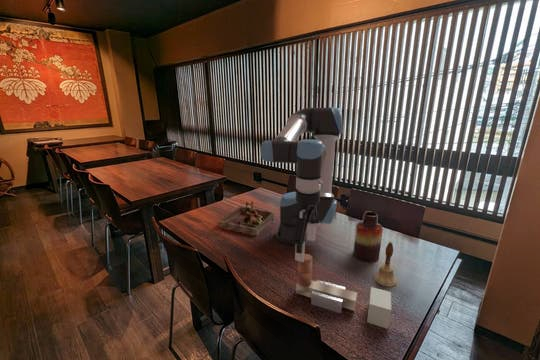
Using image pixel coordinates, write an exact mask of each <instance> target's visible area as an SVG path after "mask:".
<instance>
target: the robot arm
mask: <svg viewBox="0 0 540 360" xmlns="http://www.w3.org/2000/svg"><path fill="white" fill-rule="evenodd" d="M342 112H343V111H342V109H341V108H339V107H331V106H330V107H305V108H302V109H300V110H297V111H295V112H293V113H292V114H290V116H289V117H288V118H287V120H286V124H285V126H284V127H283V128H282V130H281V131H280V132H279V133H278V134H277V136H276V137H275V138H274V139H273V140H272V139H271V140H264V141H263V142H262V143H261V146H260V156H261V159H262V161H264V162H270V163H282V164H283V163H284V164H285V163H286V164H296V177H295V180H296V181H295V189H296V191H292V192H287V193H284V194H283V195H282V196H281V197H280V203H279V212H280V213H279V214H280V215H279V219H280V220H279V221H280V222H279V225H278V228H277V230H276V239H277V241H279V242H280V243H282V244H285V245H293V246H294V245H295V247H294V248H295V251H294V252H295V253H294V260H295V261H297V262H298V261H301V262H304V254H305V249H306V248H305V247H306V240H307V241H312V242H315V240H316V227H317V225H316V224H321V225H323V224H324V225H326V224H327V225H329V224H332V223H333V220H334V216H335V212H336V208H337V203H338V200H336V199H335V195H334V194H333V192H332V186H333V177H334V176H333V174H334V164H335V163H334V162H335V150H336V142H337V140H338V139H340V135H341V134H343V133H344V132H343V130H344V129H343V128H344V127H343V113H342ZM304 133H309V134H313V138H314V139H311V138H310V139H300V140H299V138H300V136H301V135H303V134H304ZM298 140H299V141H298Z"/></svg>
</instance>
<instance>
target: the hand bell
mask: <svg viewBox="0 0 540 360" xmlns="http://www.w3.org/2000/svg"><path fill="white" fill-rule="evenodd" d="M393 253H394V245H393V242H391V241H389V242H388V244H387V245H386V247H385V261H384V264H383V263H382V264H381V265H380V267H379V270H378V271H377V272H375V273H374V275H373V279H374V281H375V282H376V283H377V284H379V285H381V286H383V287H390V288H391V287H395V286H396V285H397V284H398V280H397V278H396V277H395V275H394V268H393V267H392V266H391V258H392V256H393Z"/></svg>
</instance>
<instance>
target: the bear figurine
mask: <svg viewBox="0 0 540 360" xmlns="http://www.w3.org/2000/svg"><path fill="white" fill-rule="evenodd" d="M245 204H246V205H245V207H246V209H247V210H246V211H245V213H244V216H242V218H240V222H239V223H240V224H239V225H243V226H247V227H252V228H257V227H256V226H258V225H260V224H261V223H262V220H261V219H262V218H263V219H264V217H262V216H258V213H257V211H256V210H255V209H256V208H254V201H251V202H248V201H246V202H245Z"/></svg>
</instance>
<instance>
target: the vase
mask: <svg viewBox="0 0 540 360" xmlns="http://www.w3.org/2000/svg"><path fill="white" fill-rule="evenodd" d="M378 216H379V215H378V213H376V212H373V211H365V212H364V213H363V217H362V220H360V221H358V222H357V223H356V225H355V234H354V243H353V255H354V256H353V257H355V258H356V259H357V260H359V261H361V262H364V263H376V262H378V261H379V259H380V253H381V246H382V240H383V232H384V231H383V230H384V228H383V226H382V225H381V224H380V223H378V221H379V220H378V219H379V217H378Z"/></svg>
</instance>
